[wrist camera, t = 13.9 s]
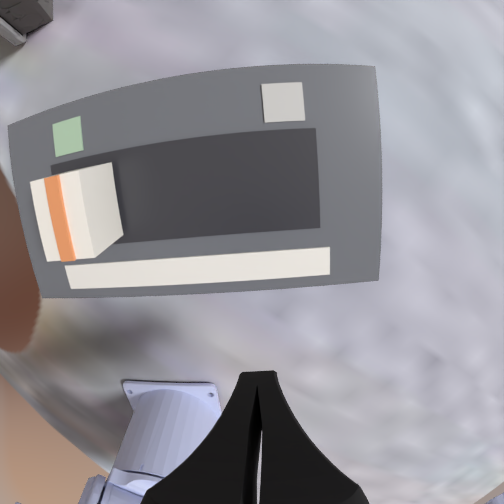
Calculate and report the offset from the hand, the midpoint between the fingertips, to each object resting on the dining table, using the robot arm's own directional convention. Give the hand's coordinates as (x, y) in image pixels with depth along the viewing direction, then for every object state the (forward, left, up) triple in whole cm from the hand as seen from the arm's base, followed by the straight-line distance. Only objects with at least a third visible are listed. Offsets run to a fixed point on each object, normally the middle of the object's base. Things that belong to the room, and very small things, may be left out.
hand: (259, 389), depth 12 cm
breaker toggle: (+7, +8, -6) cm, 13 cm away
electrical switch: (+24, +14, -10) cm, 29 cm away
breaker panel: (+7, +4, -9) cm, 12 cm away
